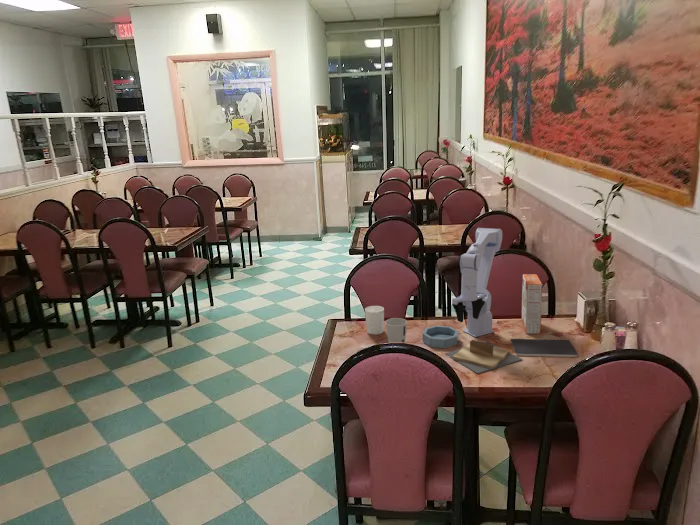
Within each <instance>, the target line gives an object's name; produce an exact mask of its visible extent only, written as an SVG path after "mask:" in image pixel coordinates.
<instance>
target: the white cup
mask: <svg viewBox="0 0 700 525" xmlns="http://www.w3.org/2000/svg"><path fill="white" fill-rule="evenodd" d="M364 314H365V324H366V331H367V334H369V335H380V334H383V333H384V331H385V330H384V329H385V328H384V324H385V308H384V306H380V305H370V306H366V307H365V308H364Z"/></svg>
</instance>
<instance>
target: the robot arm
mask: <svg viewBox="0 0 700 525" xmlns="http://www.w3.org/2000/svg"><path fill="white" fill-rule="evenodd" d="M474 237H475V238H474V239H475V242H474V243H472V244H471V245H470V246H469V248H468V249H467V251H466V253H463V254H461V255H460V259H459V268H460V273H461V282H460V283H461V288H460V289H461V290H460V293H461V294H460V295H459V296H456V297H454V298H451V299H452V303H451V305H452V307H453V309H454V311H455V313H456V319H457V321H458V322H459V323H463V322H464V317H465V316H464V315H465V312H467V328H464V329H462V332H465V333H466V334H469V335H470V336H472V337H474V338H476V337H481V336H485V335H487V334H493V333H494V330H493V313H492V312H491V311H490V310H491V306H492V294H491V293H490V291H489V290H488V289H487V286H488V282H489V278H490V273H491V269H492V265H493V261H494V257H495V254H496V253H497V252H499V251H500V249H501V246H502V241H503V230H502V229H501V228H490V227H489V228H488V227H487V228H486V227H477V229H476V230H475V236H474Z"/></svg>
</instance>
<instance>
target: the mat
mask: <svg viewBox="0 0 700 525" xmlns="http://www.w3.org/2000/svg"><path fill="white" fill-rule="evenodd" d="M483 342H484V343H489V344H493V343H492V342H489V341H483ZM493 347H497V348H500V346H497V345H495V344H493ZM461 349H462V348H460V349H457V350H452V351H450V352H446V353H444V355H445V354H446V355H445V356H447V355H448V356H450V357H451V360H453V356H454V355H455V354H456V353H457V352H459V351H460V350H461ZM448 356H447V357H448ZM450 357H449V358H450ZM453 361H455V362H457V363H458V362H459V363H458V364H460V365H461V366H463V367H465V368H466V369H469V371H472V372H473V373H475V374H476V373H477V375H480V374H483V373H485V372H486V373H487V372H490V371H491V370H495V369H498V368H501V367H505V366H508V365H512V364H515V363H518V362H521V361H523V358H521V357H520V356H518V355H516V354H513V353H511V352H510V353H509V354H508V355H507V356H506V357H505V358H504V359H503V360H502V361H501V362H500V363H499V364H498V365H497V366H496V367H494V368H493V369H490V368H486V367H483V366H479V365H475V364H471V363H467V362H464V361H460V360H456V359H454V360H453Z"/></svg>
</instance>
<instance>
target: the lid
mask: <svg viewBox="0 0 700 525" xmlns="http://www.w3.org/2000/svg"><path fill="white" fill-rule="evenodd" d="M484 342H485V341H479V340H475V339H471V340H470V341H469V343H467V344H466V345H465V346H463V347H462V348H460V349H461V350H460V351H459V352H457V353H456V354H455V355H454V356H453V359H456V360H460V361H464V362H467V363H471V364H475V365H479V366H483V367H486V368H490V369H493V368H494V367H496V366H497V365H498V364H499V363H500V362H501V361H502V360H503V359H504V358H505V357H506V356H507V355H508V354H509V353H511V352H510V351H511V350H509V349H505V348H501V347H499V348H497V347H498V346H497V347H493V343H492V344H489V343H484ZM453 359H452V360H453ZM493 370H494V369H493Z"/></svg>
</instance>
